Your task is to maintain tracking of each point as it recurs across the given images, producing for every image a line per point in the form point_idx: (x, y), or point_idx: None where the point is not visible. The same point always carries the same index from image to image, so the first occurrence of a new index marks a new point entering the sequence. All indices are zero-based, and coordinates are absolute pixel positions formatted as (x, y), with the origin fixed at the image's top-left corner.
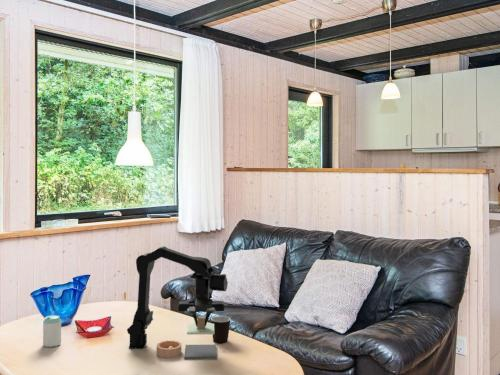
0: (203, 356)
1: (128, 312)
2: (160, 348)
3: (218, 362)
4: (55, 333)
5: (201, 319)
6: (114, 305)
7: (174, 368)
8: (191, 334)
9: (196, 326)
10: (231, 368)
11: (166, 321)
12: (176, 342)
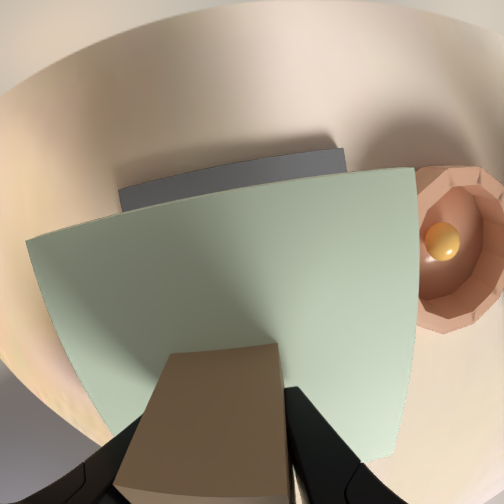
0: (203, 170)
1: (480, 487)
2: (500, 184)
3: (107, 137)
4: None
5: (188, 474)
6: (491, 493)
7: (358, 20)
8: (339, 174)
9: (297, 386)
10: (46, 86)
11: (409, 498)
12: (425, 310)
